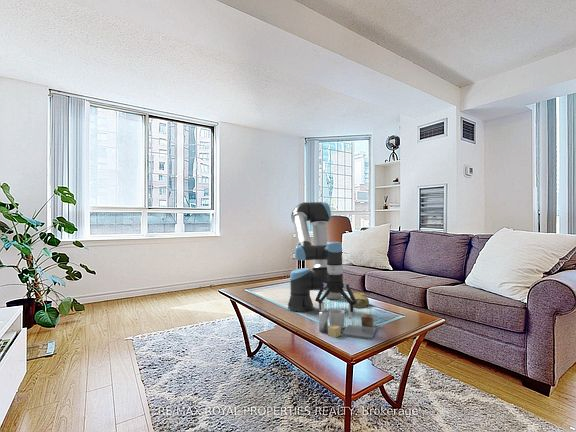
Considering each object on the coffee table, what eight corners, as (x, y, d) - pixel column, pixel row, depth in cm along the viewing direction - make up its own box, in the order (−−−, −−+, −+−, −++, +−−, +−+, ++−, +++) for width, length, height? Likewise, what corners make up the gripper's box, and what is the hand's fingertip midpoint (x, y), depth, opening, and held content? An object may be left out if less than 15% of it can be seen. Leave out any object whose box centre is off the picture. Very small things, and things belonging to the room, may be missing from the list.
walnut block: (361, 326, 146) (361, 316, 146) (363, 323, 151) (363, 313, 151) (372, 328, 144) (371, 317, 144) (373, 324, 149) (373, 314, 149)
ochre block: (328, 335, 136) (328, 326, 136) (333, 333, 139) (333, 324, 139) (335, 337, 133) (335, 328, 133) (340, 335, 136) (340, 326, 136)
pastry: (359, 301, 193) (358, 289, 194) (374, 305, 183) (374, 292, 183) (343, 305, 186) (343, 292, 186) (358, 309, 175) (358, 296, 175)
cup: (325, 323, 152) (325, 307, 152) (341, 322, 152) (340, 307, 153) (330, 331, 141) (330, 314, 141) (347, 330, 142) (346, 313, 142)
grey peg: (318, 332, 140) (317, 312, 140) (320, 329, 144) (320, 310, 144) (326, 333, 138) (326, 313, 139) (328, 330, 142) (328, 311, 142)
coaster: (342, 335, 135) (342, 333, 135) (348, 326, 147) (348, 324, 147) (372, 339, 130) (372, 337, 130) (376, 329, 142) (375, 327, 142)
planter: (329, 295, 211) (328, 279, 212) (345, 297, 204) (345, 281, 204) (320, 299, 201) (320, 282, 202) (337, 301, 194) (336, 284, 194)
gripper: (308, 273, 149) (309, 317, 148) (359, 275, 139) (360, 322, 138) (313, 271, 156) (314, 313, 155) (362, 273, 146) (363, 317, 145)
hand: (336, 317), depth 146 cm, fingers open, 13 cm apart
